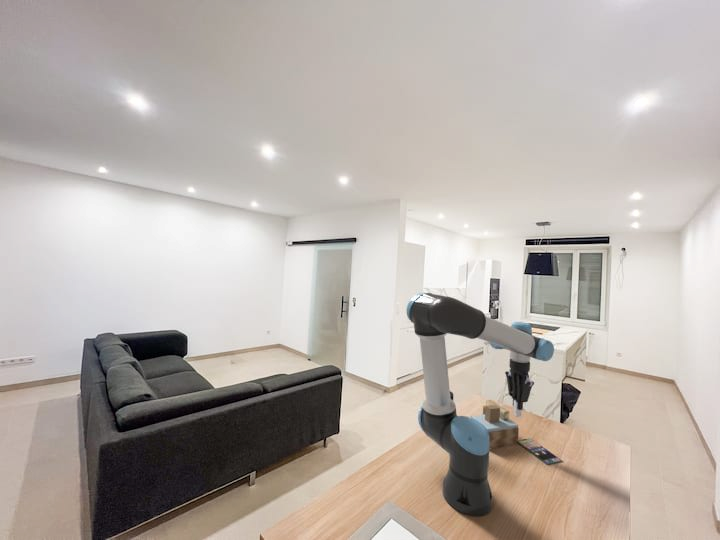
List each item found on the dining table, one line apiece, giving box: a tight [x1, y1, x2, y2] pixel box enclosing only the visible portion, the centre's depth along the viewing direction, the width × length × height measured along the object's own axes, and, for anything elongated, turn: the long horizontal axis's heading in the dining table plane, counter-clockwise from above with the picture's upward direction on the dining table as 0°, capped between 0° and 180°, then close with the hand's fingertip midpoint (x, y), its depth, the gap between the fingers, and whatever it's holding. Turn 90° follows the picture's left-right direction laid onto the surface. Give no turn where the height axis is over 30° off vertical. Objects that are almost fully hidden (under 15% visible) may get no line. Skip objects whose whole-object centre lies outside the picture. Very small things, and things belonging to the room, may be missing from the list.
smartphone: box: [517, 437, 564, 466], centre depth 122 cm, size 8×15×1 cm, turn 18°
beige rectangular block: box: [485, 399, 510, 420], centre depth 136 cm, size 3×11×3 cm, turn 17°
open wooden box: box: [482, 405, 520, 450], centre depth 132 cm, size 17×15×10 cm
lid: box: [470, 405, 519, 432], centre depth 130 cm, size 16×11×8 cm
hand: (517, 415), depth 125 cm, fingers closed
